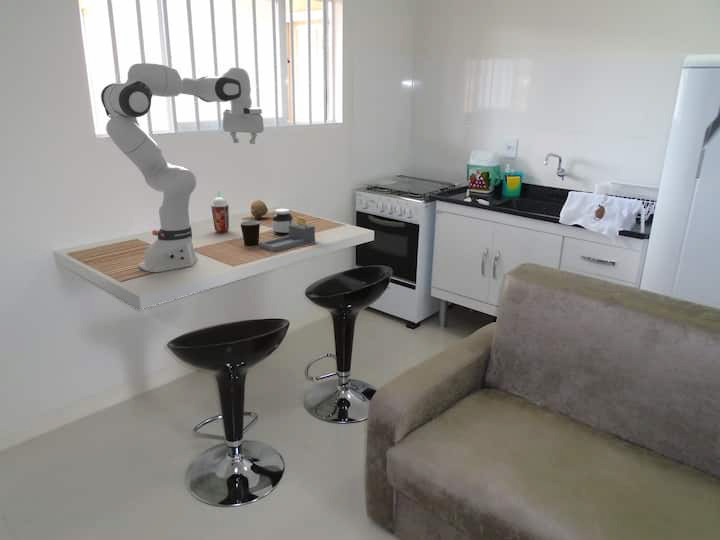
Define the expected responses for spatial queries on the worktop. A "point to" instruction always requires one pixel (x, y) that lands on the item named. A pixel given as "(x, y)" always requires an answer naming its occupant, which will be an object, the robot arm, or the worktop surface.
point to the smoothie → (220, 214)
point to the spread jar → (282, 221)
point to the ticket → (301, 221)
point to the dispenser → (291, 238)
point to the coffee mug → (250, 232)
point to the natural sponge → (258, 209)
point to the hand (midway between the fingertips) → (244, 143)
